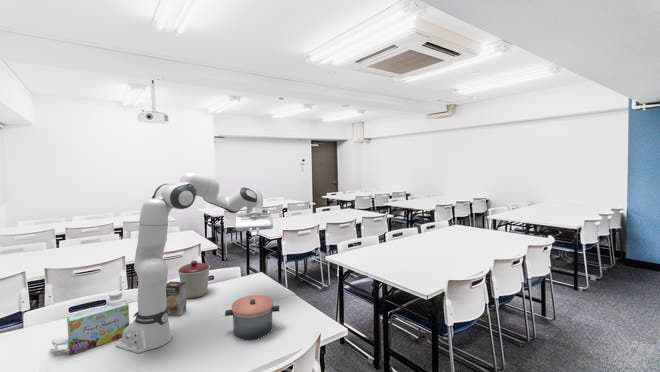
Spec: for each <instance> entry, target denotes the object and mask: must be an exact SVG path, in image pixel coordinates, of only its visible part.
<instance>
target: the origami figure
mask: <svg viewBox="0 0 660 372" xmlns="http://www.w3.org/2000/svg"><path fill="white" fill-rule="evenodd" d="M51 343H52V346H53V347H54V350H53V351H55V352H56V353H57V355H58V354H59V355H60V352H59V351H58V350H57V349H58V346H65V345H67V347H66V353H67V356H68V355H70V350H69V340H68V336H64V337H58V338H57V337H56V338H53V339H52V341H51Z"/></svg>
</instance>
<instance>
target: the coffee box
mask: <svg viewBox="0 0 660 372" xmlns="http://www.w3.org/2000/svg"><path fill="white" fill-rule="evenodd" d="M166 300H167V306H168V317H170V316H172V317H181V316H182V315H184V314H185V313H186V312H187V298H186V282H180V281H168V282H167V286H166Z"/></svg>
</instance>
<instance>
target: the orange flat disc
mask: <svg viewBox="0 0 660 372" xmlns="http://www.w3.org/2000/svg"><path fill="white" fill-rule="evenodd" d="M273 306H274V300H273V298H271V297H270V296H267V295H261V294H257V295H256V294H255V295H254V294H253V295H247V296H244V297H239V298H238V299H236V300H235V301H233V303H232V304H231V310H232V312H233V313H234V314H236V315H239V316H255V315H260V314H263V313H265V312H267V311H269V310H270V309H271V308H272V307H273Z"/></svg>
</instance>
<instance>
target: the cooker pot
mask: <svg viewBox="0 0 660 372" xmlns="http://www.w3.org/2000/svg"><path fill="white" fill-rule="evenodd" d="M274 312H275V313H276V312H280V305H273V307H272V308H271V309H270V310H269V311H267V312H265V313H263V314H260V315H255V316H239V315H236V314H234V313H233V312H232V309H227V310H225V312H224V316H225V317H229V316H231V317H232V323H233V335H234V337H235V338H237V339H238V338H239V339H238V340H241V339H243V341H254V339H255V340H258V338H259V339H262V338H264V337H263V336H265V335H266V336H268V335H269V334H270V333H271V332H272V331H271V330H273V329H272V328H273V324H274V323H273V322H274V320H273V313H274ZM268 333H269V334H268ZM267 334H268V335H267ZM266 336H265V337H266ZM261 337H262V338H261Z"/></svg>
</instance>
